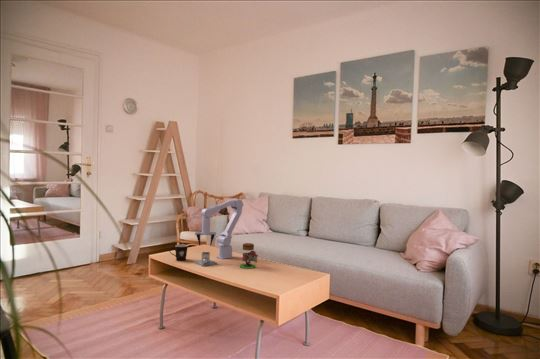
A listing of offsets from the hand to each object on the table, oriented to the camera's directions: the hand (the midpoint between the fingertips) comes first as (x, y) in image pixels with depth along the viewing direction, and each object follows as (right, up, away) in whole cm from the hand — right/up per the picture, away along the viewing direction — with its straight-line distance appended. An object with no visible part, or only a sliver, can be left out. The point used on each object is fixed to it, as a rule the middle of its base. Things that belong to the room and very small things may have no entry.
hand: (205, 245), depth 252 cm
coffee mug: (-18, -10, -1) cm, 21 cm away
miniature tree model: (+31, -12, -13) cm, 36 cm away
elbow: (+2, -10, -10) cm, 14 cm away
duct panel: (+2, -11, -8) cm, 14 cm away
